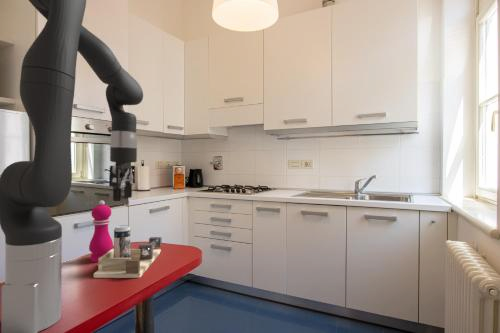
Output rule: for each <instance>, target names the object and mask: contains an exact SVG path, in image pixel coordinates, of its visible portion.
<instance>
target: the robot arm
mask: <svg viewBox="0 0 500 333" xmlns="http://www.w3.org/2000/svg"><path fill="white" fill-rule="evenodd" d="M28 1H29V3H30V4H31V5H32V6H33V7H34V8H35V9H36V10H37V12H39V13H40V14H41V15H42V16H43V17H44V18H45V20H46V22H45V25H44V27H43V28H42V29H41V31H40V33H39V34H38V35H37V37H36V39H34V41H33V42H32V44H31V45H30V46H29V48H28V49H27V51H26V53H25V54H24V57H23V59H22V64H21V69H20V80H19V97H20V99H21V103H22V106H23V108H24V110H25V113H26V114H27V117H28V119H29V121H30V123H31V126H32V129H33V132H34V141H35V142H34V153H33V154H34V155H33V160H21V161H15V162H13V163H11V164H9V165H7V166H6V168H4V170H3V171H2V173H1V175H0V229H1V230H2V232H3V234H4V239H5V243H4V244H5V246H4V247H5V248H4V249H5V252H4V253H5V254H4V256H5V257H4V260H5V261H4V264H5V265H4V266H5V267H4V268H5V270H4V284H3V285H2V286H1V287H0V288H1V291H0V292H1V298H0V299H1V304H0V307H1V309H0V312H1V313H0V314H1V315H0V316H1V317H0V319H1V321H0V322H1V325H0V327H1V329H0V332H1V333H39V332H40V331H43V330H46V329H48V328H50V327H52V326H54V325H55V324H57V323H58V322H59V321H60V319H61V318H62V269H63V268H62V267H63V266H62V265H63V264H62V262H63V261H62V260H63V259H62V257H63V256H62V249H63V248H62V243H63V242H62V241H63V237H62V236H63V227H62V223H61V222H59V221H58V220H56V219H55V218H53V217H52V216H51V215H50V213H49V212H48V210H47V208H55V207H57V206H60V205H61V204H62V203H64V201H65V200H67V198H68V196H69V194H70V191H71V189H72V181H73V179H72V178H73V171H72V170H73V169H72V168H73V167H72V125H73V124H72V121H73V108H74V107H73V105H74V98H75V89H76V88H75V87H76V72H77V70H76V69H77V59H78V53H79V54H80V55H81V57H82V58H83V59H84V60H85V62H86V63H87V64H88V65H89V67H90V68H91V70H92V71H93V72H94V74H95V75H96V76H97V78H98V79H99V80H100V81H101V82H102V83H103V84H105V85H107V86H106V88H105V98H106V102H107V105H108V109H109V113H110V117H111V131H110V132H111V133H110V141H109V142H110V144H109V146H110V148H109V150H110V152H109V155H110V156H109V161H110V162H111V163H115V164H114V165H110V166H109V177H108V178H109V179H108V180H109V182H108V186H109V187H111V188H112V201H114V202H121V201H122V197H123V198H125V199H127V198H128V199H129V198H132V197H133V186H134V184H136V166H135V165H132V163H136V162H137V157H138V154H137V153H138V150H137V149H138V136H137V116H136V115H135V114H133V113H131V112H128V111H126V110H125V109H124V106H137V105H139V104H141V103H142V102H143V98H144V93H143V92H144V91H143V89H142V87H141V85H140V83H139V82H138V81H137V80H136V79H135V78H134V77H133V76H132V75H131V74H130V73H129V72H128V71H127V70H125V69H124V68H123V67H122V65H121V63H120V62H119V60H118V58H117V56H115V54H114V52H113V50H111V48H110V47H109V46H108V45H107V44H106V42H104V41H103V40H102V39H100V38H99V37H97V35H96V34H93V32H91V31H89V30H88V28H86V27H85V26H83V22H84V21H83V20H84V16H85V11H86V6H87V0H28ZM123 185H124V193H123V191H122V190H123V188H122V187H123ZM122 194H124V196H122Z"/></svg>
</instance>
